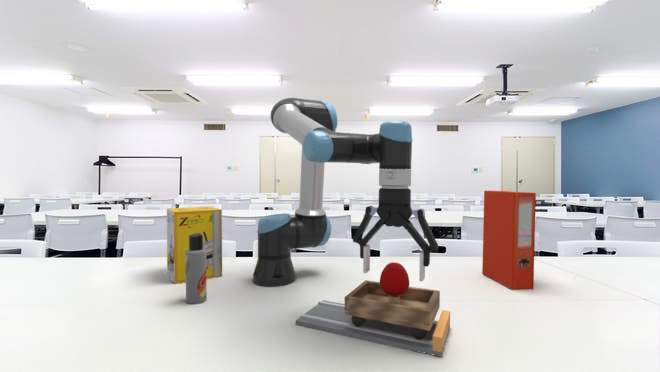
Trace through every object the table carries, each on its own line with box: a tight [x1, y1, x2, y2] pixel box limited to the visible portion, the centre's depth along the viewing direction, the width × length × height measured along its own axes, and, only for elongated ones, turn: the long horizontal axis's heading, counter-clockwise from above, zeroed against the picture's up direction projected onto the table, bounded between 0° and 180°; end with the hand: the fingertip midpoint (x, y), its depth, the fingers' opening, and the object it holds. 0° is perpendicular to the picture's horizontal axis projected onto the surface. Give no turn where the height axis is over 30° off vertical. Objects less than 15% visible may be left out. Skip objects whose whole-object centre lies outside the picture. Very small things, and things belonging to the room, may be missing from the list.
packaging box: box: [166, 206, 223, 285], centre depth 126 cm, size 16×16×25 cm
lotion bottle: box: [185, 233, 208, 305], centre depth 99 cm, size 6×6×20 cm
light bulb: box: [379, 262, 410, 304], centre depth 80 cm, size 9×7×10 cm
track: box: [295, 299, 451, 357], centre depth 82 cm, size 35×15×4 cm, turn 64°
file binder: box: [481, 190, 537, 291], centre depth 118 cm, size 8×17×32 cm, turn 5°
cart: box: [344, 279, 441, 340], centre depth 80 cm, size 19×14×7 cm
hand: (393, 275), depth 80 cm, fingers open, 13 cm apart
